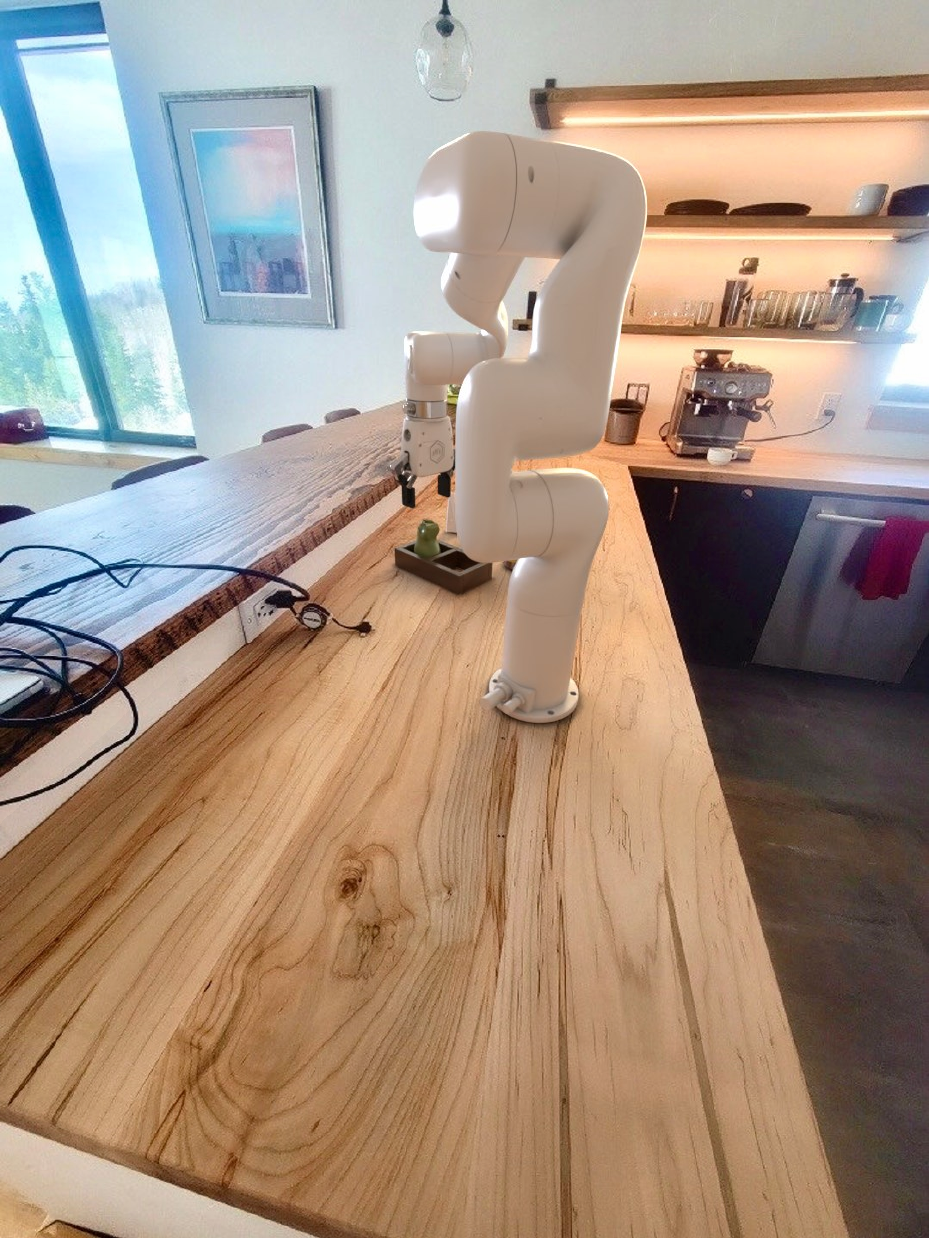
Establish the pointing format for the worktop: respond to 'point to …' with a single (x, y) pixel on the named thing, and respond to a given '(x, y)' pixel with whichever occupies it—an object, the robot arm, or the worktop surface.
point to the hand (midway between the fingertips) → (426, 501)
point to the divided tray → (444, 567)
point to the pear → (427, 539)
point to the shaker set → (451, 515)
